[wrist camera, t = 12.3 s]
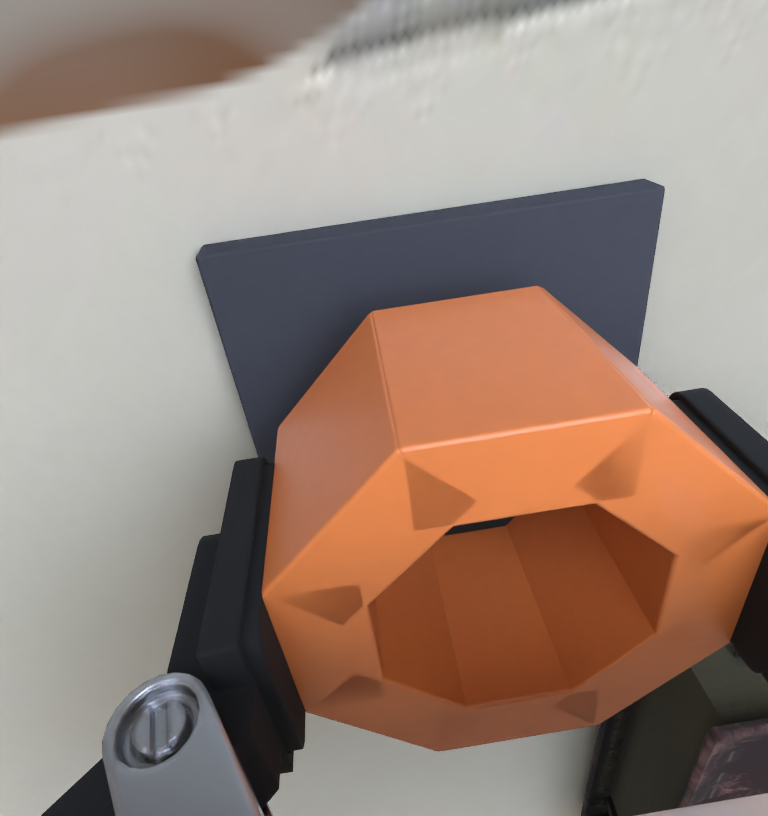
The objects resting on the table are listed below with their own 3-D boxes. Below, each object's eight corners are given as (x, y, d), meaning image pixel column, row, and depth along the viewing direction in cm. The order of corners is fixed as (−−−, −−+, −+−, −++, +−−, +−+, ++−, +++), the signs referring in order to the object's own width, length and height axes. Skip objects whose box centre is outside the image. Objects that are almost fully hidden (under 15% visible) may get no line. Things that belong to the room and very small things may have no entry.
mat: (295, 552, 16) (294, 574, 15) (201, 244, 11) (193, 257, 10) (601, 503, 16) (613, 523, 15) (645, 177, 11) (667, 185, 10)
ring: (324, 593, 14) (326, 772, 10) (250, 328, 10) (212, 479, 6) (612, 547, 14) (707, 708, 10) (657, 265, 10) (836, 380, 6)
